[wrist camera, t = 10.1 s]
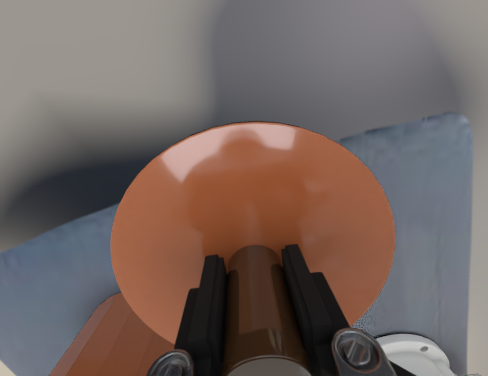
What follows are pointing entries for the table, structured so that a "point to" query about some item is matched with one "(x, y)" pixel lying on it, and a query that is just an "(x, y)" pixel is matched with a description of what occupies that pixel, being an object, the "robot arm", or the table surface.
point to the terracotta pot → (112, 344)
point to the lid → (252, 235)
